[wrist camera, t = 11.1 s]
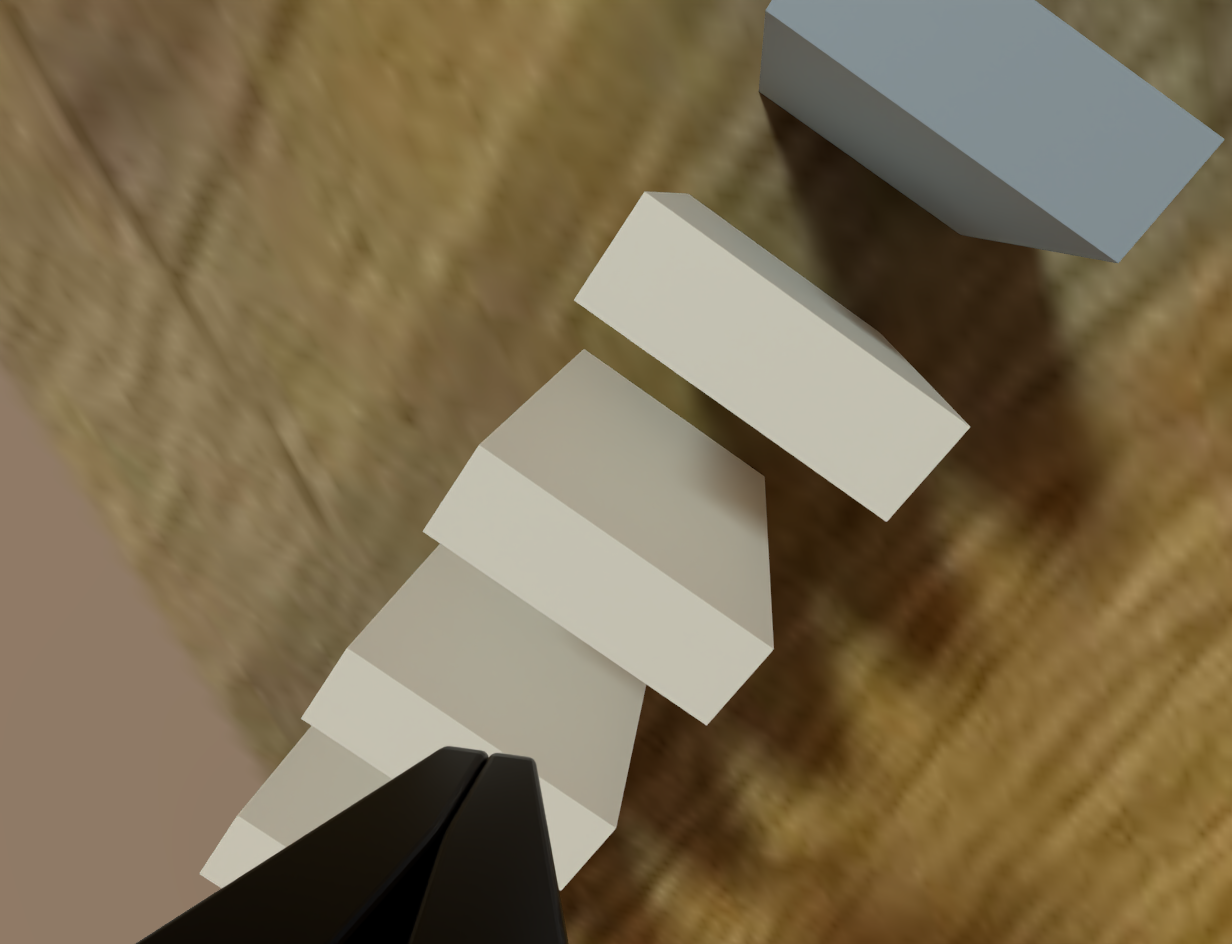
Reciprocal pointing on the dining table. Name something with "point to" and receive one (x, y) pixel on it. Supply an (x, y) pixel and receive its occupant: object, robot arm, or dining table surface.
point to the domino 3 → (623, 533)
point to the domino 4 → (488, 697)
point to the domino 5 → (987, 116)
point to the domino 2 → (772, 350)
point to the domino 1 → (292, 804)
